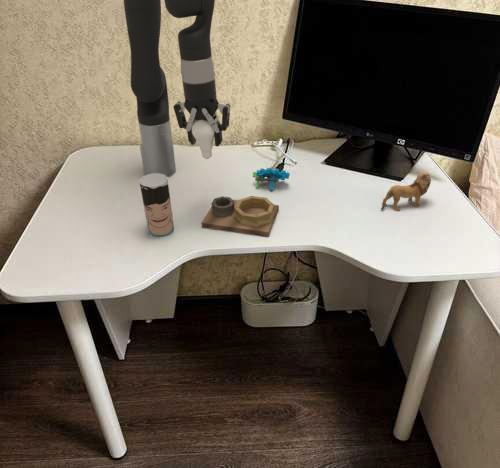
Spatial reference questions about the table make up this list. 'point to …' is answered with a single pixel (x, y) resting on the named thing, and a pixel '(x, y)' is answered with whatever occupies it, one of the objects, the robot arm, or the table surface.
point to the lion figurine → (409, 191)
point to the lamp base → (242, 215)
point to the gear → (270, 176)
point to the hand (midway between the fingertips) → (205, 144)
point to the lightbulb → (204, 136)
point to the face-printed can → (157, 204)
